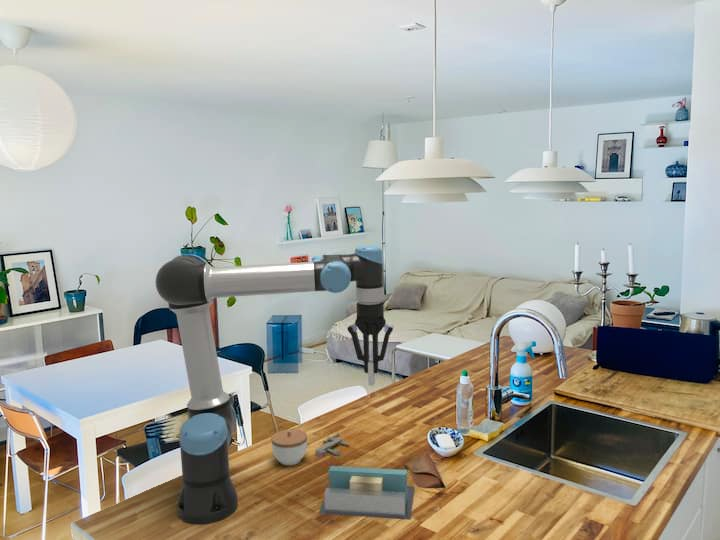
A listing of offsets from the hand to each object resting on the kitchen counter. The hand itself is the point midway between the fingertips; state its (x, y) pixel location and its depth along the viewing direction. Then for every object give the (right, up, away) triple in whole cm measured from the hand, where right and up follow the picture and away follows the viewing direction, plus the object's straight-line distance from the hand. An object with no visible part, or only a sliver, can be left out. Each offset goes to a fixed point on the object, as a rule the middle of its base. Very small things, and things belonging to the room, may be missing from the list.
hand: (371, 383), depth 164 cm
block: (-2, -28, -16) cm, 32 cm away
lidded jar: (-24, -26, +12) cm, 37 cm away
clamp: (-12, -25, +20) cm, 34 cm away
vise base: (-1, -29, -13) cm, 31 cm away
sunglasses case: (+15, -27, 0) cm, 31 cm away
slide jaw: (-1, -27, -13) cm, 30 cm away
